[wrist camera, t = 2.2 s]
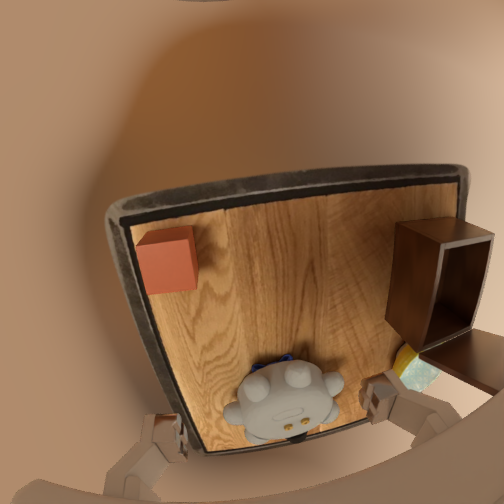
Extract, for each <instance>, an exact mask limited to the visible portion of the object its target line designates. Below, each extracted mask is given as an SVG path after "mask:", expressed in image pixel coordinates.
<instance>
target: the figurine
mask: <svg viewBox="0 0 504 504" xmlns="http://www.w3.org/2000/svg"><path fill="white" fill-rule="evenodd" d="M252 372H253V373H252V374H249V375H248V376H246V377H245V378H244V380H243V382H242V383H241V385H240V386H239V389H238V392H237V399H238V401H234V402H231V403H229V404H227V405H226V406H225V407H224V410H223V416H224V419H225V420H226V421H227V422H228V423H229V424H232V425H244V427H245V431H244V432H245V437H246V438H247V440H248V441H249V442H250V443H253V444H257V445H258V444H264V443H266V442H268V441H269V440H270V439H283V438H285V439H287V440H289V441H290V442H291V443H300V442H303V441H304V440H305V438H306V435H307V432H308V431H309V430H311V429H313V428H314V427H316V426H317V425H319V424H328V423H331V422H333V421H334V420H335V419H336V418H337V417H338V415H339V411H340V410H339V406H338V404H337V402H335V401H334V400H333V398H332V397H334V396H335V395H337V394H338V393H340V392H341V390H342V389H343V387H344V379H343V377H342V375H341V374H340V373H338V372H336V371H331V372H327V373H325V374H323V373H322V371H321V370H320V369H319V368H318V367H317V366H316V365H314V364H312V363H310V362H306V361H302V360H293V358H292V356H291V355H290V354H287V355H284V356H283V357H282V358H281V359H280V361H279V362H277V361H276V362H273V363H270V364H267V366H265V365H261V364H255V365H253V366H252Z"/></svg>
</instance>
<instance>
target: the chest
mask: <svg viewBox="0 0 504 504" xmlns="http://www.w3.org/2000/svg"><path fill="white" fill-rule="evenodd" d="M494 235H495V234H494V233H492V232H490V231H487V230H485V229H483V228H480V227H478V226H475V225H473V224H470V223H468V222H465V221H463V220H460V219H457V218H455V217H444V218H434V219H424V220H414V221H404V222H396V227H395V242H394V254H393V264H392V273H391V281H390V289H389V296H388V302H387V309H386V315H385V320H386V321H387V322H388V323H389V324H390V325H391V326H392V327H393V328H394V330H395V331H396V332H397V333H398V334H399V335H400V336H401V337H402V338H403V339H404V340H405V341H406V342H407V344H408V345H409V346H410V347H411V348H412V349H413V350H414V351H415V352H416V353H419V352H422V351H424V350H427V349H429V348H432V347H434V346H436V345H439V344H441V343H443V342H445V341H448V340H450V339H452V338H454V337H456V336H458V335H460V334H463V333H465V332H467V331H468V330H471V329H472V326H473V323H474V320H475V317H476V314H477V310H478V307H479V304H480V300H481V296H482V293H483V289H484V285H485V281H486V277H487V273H488V268H489V263H490V258H491V253H492V248H493V241H494Z"/></svg>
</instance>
